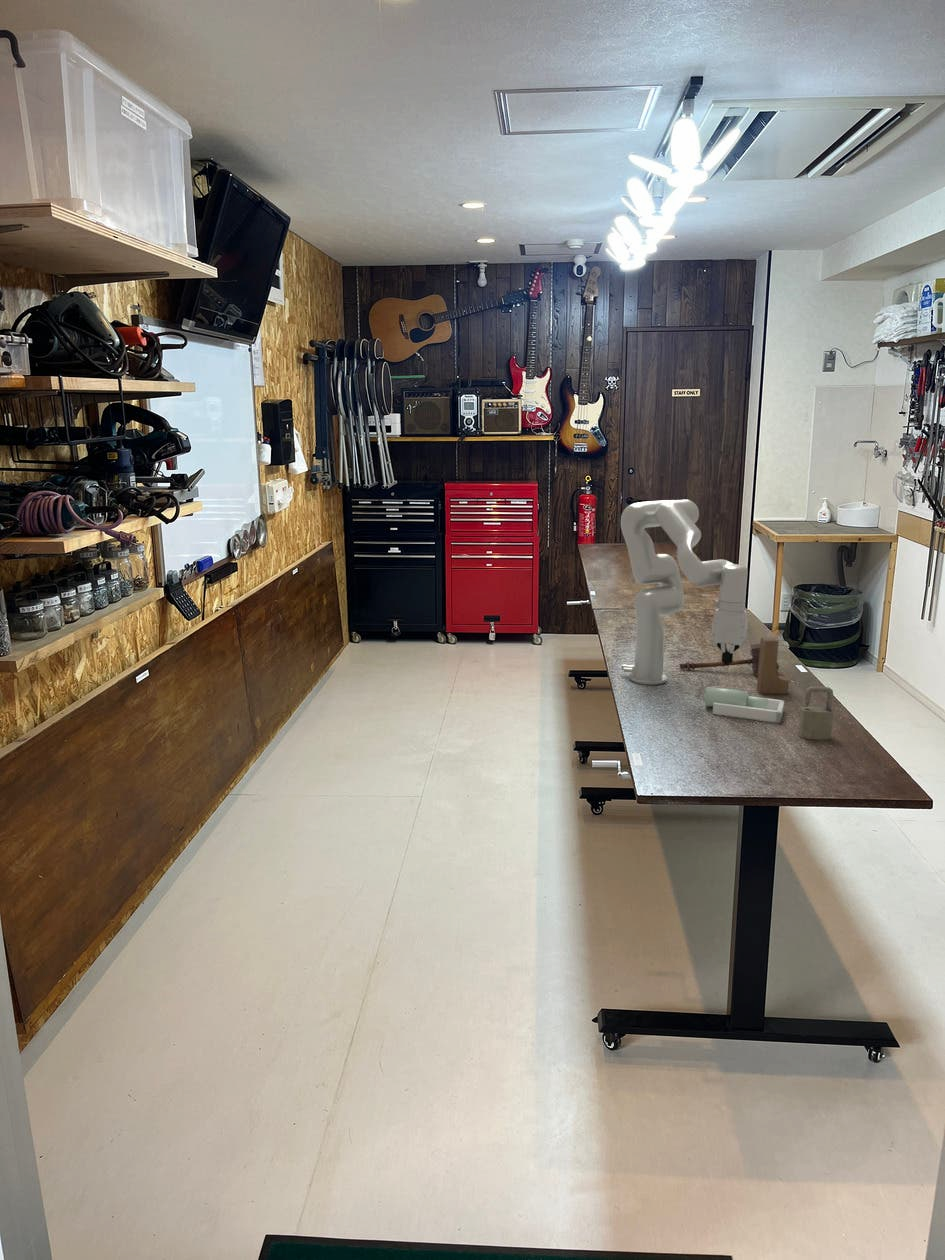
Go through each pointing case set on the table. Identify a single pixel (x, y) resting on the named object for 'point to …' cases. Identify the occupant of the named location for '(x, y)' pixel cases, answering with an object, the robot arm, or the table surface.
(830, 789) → the table surface
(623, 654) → the table surface
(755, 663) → the hammer
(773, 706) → the u rest
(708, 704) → the bottle
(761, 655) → the wooden block
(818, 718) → the padlock
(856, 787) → the table surface
